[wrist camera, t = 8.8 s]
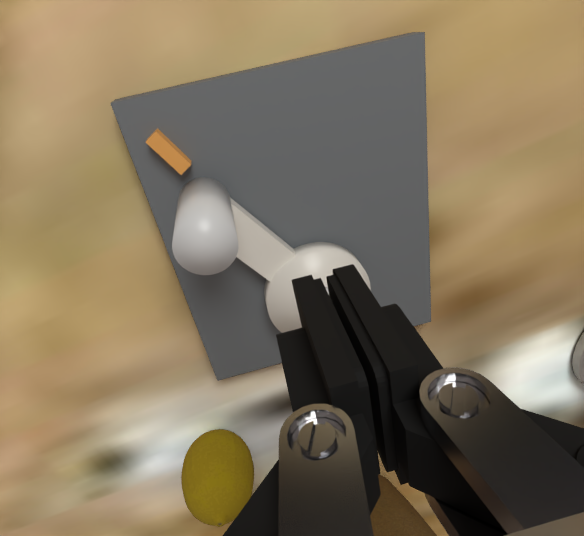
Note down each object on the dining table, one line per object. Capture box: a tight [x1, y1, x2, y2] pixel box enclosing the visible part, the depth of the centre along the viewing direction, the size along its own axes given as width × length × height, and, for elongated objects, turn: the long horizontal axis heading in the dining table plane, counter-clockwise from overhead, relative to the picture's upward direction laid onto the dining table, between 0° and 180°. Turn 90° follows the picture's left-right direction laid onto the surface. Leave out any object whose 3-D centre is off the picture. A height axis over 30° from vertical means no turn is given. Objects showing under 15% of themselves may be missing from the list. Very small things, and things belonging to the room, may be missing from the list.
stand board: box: [111, 32, 431, 380], centre depth 27 cm, size 20×17×2 cm
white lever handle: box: [172, 177, 371, 333], centre depth 25 cm, size 14×7×6 cm, turn 45°
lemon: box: [182, 429, 254, 527], centre depth 33 cm, size 6×6×8 cm
